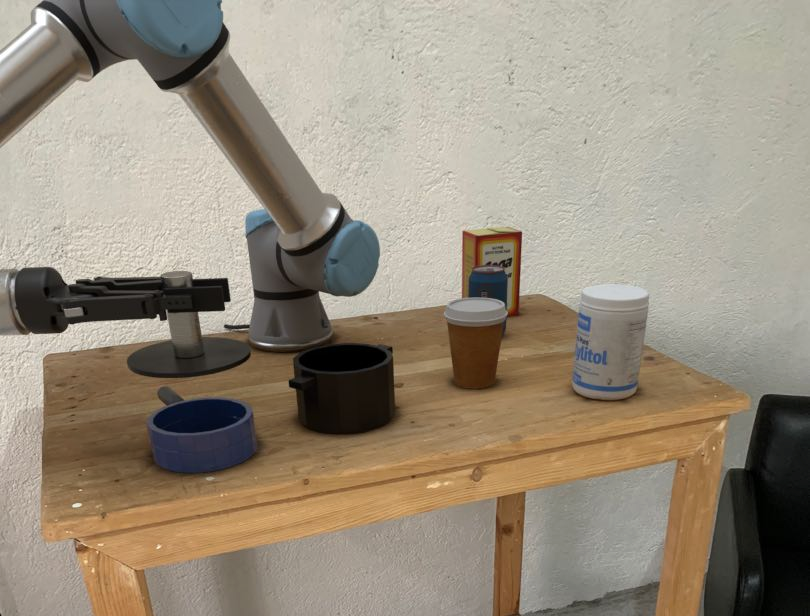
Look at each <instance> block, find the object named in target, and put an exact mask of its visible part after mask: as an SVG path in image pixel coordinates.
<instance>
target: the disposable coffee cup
mask: <svg viewBox="0 0 810 616" xmlns="http://www.w3.org/2000/svg"><path fill="white" fill-rule="evenodd" d="M507 314H508V312H507V311H506V309H505V304H504V302H502V301H500V300H497V299H491V298H479V297H474V298H462V297H461V298H457V299H453V300H450V301H449V302H447V304H446V308H445V310H444V312H443V316H444V319H445V322H446V324H447V331H448V341H449V348H450V358H451V364H452V365H451V366H452V373H453V382H454V384H455V386H457V387H459V388H464V389H473V390H475V389H485V388H489V387H492V386H493V385H494V384H495V382H496V376H497V371H498V363H499V357H500V349H501V343H502V337H503V335H502V331H503V325H504V321H505V319H506V320H507V317H508V316H507ZM506 316H507V317H506Z"/></svg>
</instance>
